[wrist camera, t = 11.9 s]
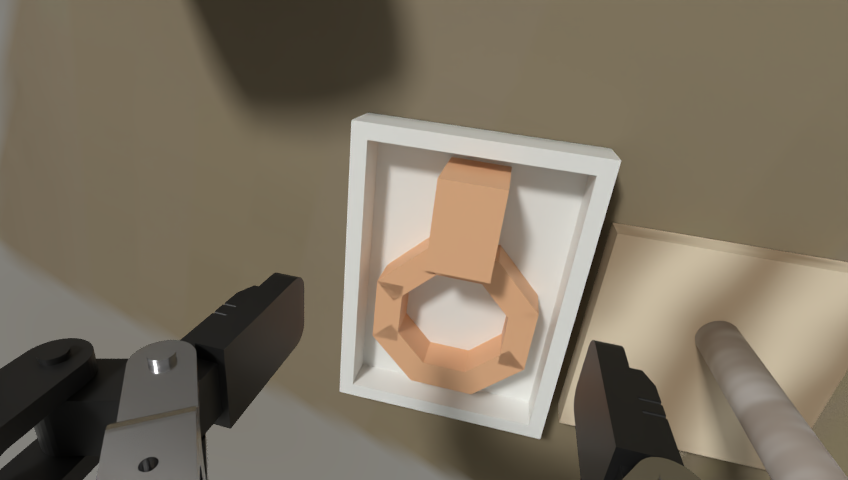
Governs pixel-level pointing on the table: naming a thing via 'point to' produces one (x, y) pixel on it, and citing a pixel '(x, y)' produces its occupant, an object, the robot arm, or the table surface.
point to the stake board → (713, 289)
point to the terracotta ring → (465, 260)
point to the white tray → (457, 299)
